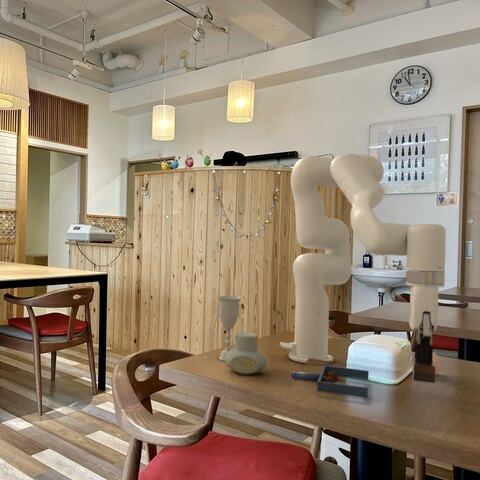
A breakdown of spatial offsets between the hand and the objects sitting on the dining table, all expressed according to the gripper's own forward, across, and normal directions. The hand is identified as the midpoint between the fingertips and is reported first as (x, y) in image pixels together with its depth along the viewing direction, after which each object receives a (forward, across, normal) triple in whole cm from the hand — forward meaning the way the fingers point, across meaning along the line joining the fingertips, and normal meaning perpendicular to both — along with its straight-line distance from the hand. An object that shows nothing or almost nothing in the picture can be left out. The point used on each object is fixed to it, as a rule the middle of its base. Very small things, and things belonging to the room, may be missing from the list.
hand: (423, 360), depth 108 cm
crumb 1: (+7, +2, -20) cm, 21 cm away
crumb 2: (+7, -3, -19) cm, 21 cm away
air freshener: (+9, -4, -41) cm, 42 cm away
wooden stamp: (+4, 0, 0) cm, 4 cm away
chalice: (+9, -15, -49) cm, 52 cm away
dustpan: (+9, 0, -20) cm, 22 cm away
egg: (+9, -22, +3) cm, 24 cm away
